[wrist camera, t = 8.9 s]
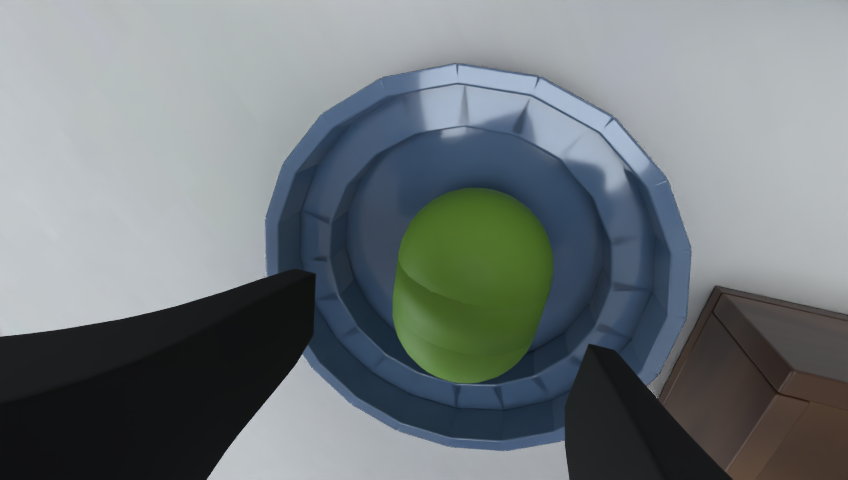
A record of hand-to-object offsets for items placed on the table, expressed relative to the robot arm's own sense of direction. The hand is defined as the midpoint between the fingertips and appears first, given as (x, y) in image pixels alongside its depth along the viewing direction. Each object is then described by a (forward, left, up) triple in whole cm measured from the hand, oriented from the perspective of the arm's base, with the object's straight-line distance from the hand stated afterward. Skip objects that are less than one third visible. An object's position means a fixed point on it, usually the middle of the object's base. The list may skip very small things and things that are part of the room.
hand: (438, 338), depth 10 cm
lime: (0, 0, -3) cm, 3 cm away
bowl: (0, 0, -6) cm, 6 cm away
